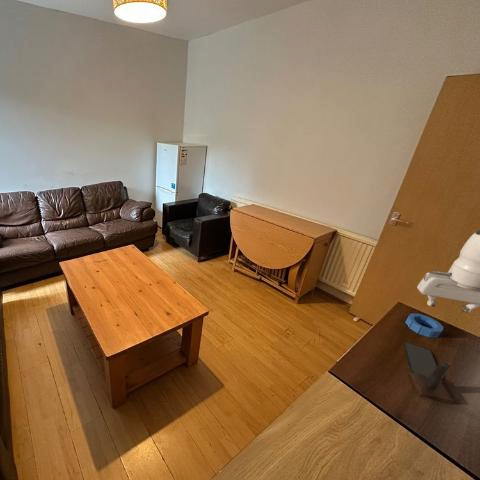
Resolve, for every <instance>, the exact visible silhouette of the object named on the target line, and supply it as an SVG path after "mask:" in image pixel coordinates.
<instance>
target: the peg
mask: <svg viewBox="0 0 480 480" xmlns="http://www.w3.org/2000/svg"><path fill="white" fill-rule="evenodd" d="M450 369H451V365H450V364H449V363H448V362H445V361H442V360H441V361H440V362H439V363H438V364H437V367H436V369H435V370H434V372H433V373H432V375H431V376H430V377H428V376H424V375H420V374H416V373H411V371H409V372H408V374H407V377H408V378H409V380H410V382H411V383H412V386H413V387H414V389H415V390H416V392H417V394H418V396H419V397H421V398H425V399H429V400H433V401H436V402H441V403H444V404H448V405H452V404H453V403H454V402H455V400H454V399H453V398H452V396H451V395H450V393H449V392H448V390H447V389H446V388H445V386H444V384H442V383H441V382H440V381H441V380H442V379H443V378H444V377H445V375H446V374H447V373H448V371H449V370H450Z"/></svg>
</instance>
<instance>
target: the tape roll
mask: <svg viewBox="0 0 480 480" xmlns="http://www.w3.org/2000/svg"><path fill="white" fill-rule="evenodd" d="M422 323H423V324H422ZM406 324H407V325H408V326H407V325H406ZM405 325H406V326H407V327H408V328H409V329H410V330H411V331H413V332H414V333H416V334H418V335H421V336H424V337H426V338H432V339H433V338H435V339H437V338H439V337H440V336H441V333H442V332H443V331H444V328H445V327H444V326H443V325H442V324H441V323H440V322H439V321H438V320H436V319H434V318H432V317H430V316H428V315H424V314H422V313H409V314H408V317H407V318H406V320H405ZM424 325H425V326H424Z"/></svg>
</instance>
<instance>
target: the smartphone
mask: <svg viewBox="0 0 480 480" xmlns="http://www.w3.org/2000/svg"><path fill="white" fill-rule="evenodd" d="M402 345H403V348H404V352H405V356H406V359H407V365H408V367H409V370H410V371H409V372H411V373H416V374H420V375H424V376H428V377H430V376H431V375H432V373H433V372H434V370H435V369H436V367H437V366H438V364H437V362H436V360H435V357H434V354H433V352H432V350H430V349H429V348H425V347H423V346H419V345H416V344H413V343H410V342H403V344H402ZM440 382H441V383H442V385H444V380H443V378H442V380H441V381H440Z"/></svg>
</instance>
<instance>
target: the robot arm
mask: <svg viewBox="0 0 480 480" xmlns="http://www.w3.org/2000/svg"><path fill="white" fill-rule="evenodd" d="M416 287H417V290H418V292H420V294H421V295H424V296H427V299H428V300H427V302H426V304H427V306H429V307H436V305H437V304H438V303H437V301H436V299H437V298H441V299H447V300H452V301H459V302H464V303H468V304H466V305H463V304H462V306H461V308H460V311H462V312H463V313H468V314H470V313H471V311H472V310H475V309H477V308H479V307H480V230H477V231H475V232H474V233H473V234H472V235H470V237H469V238H468V239H467V240H466V242H465V243H464V245H463V246H462V248H461V249H460V250H459V256H458V258H456V259H455V260H454V261H453V263H452V264H451V266H450V268H449V270H448V271H439V270H433V271H429V272H426V273H425V274H424V276H423V278H422V279H421V280H420V281H419V283H418V285H417V286H416Z"/></svg>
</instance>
